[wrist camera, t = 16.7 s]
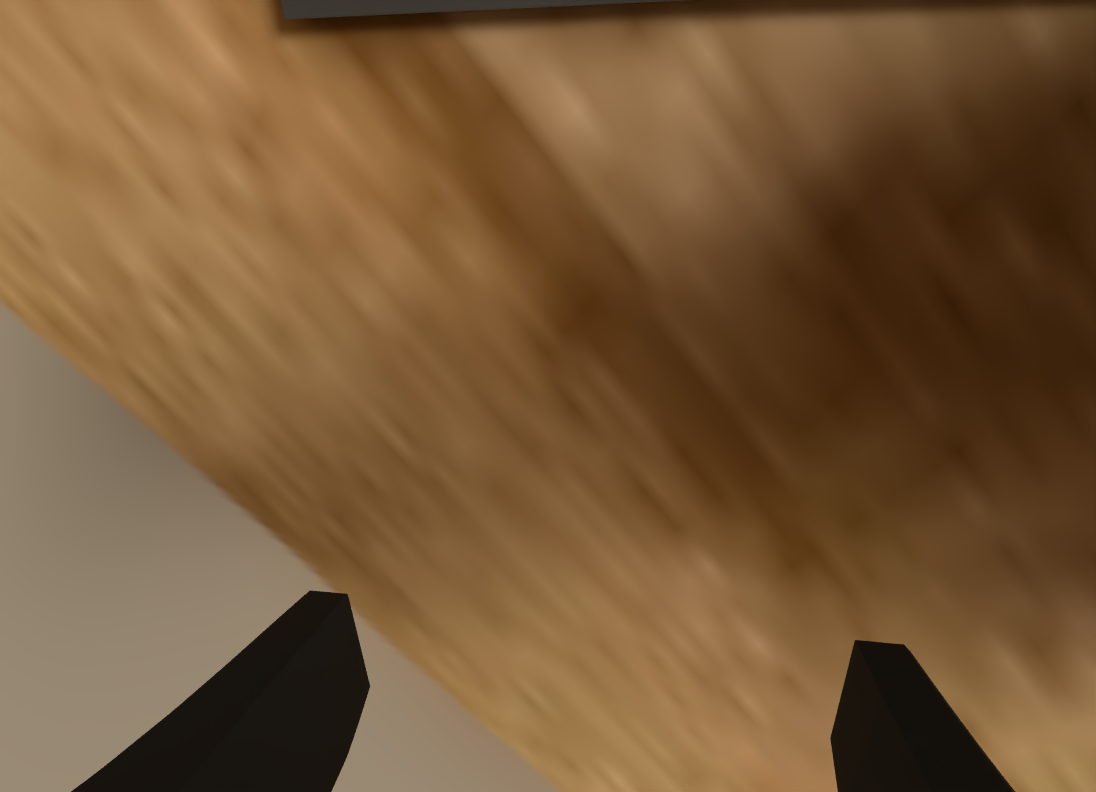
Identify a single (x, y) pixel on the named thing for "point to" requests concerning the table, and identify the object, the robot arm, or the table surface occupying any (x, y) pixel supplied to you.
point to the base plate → (423, 6)
